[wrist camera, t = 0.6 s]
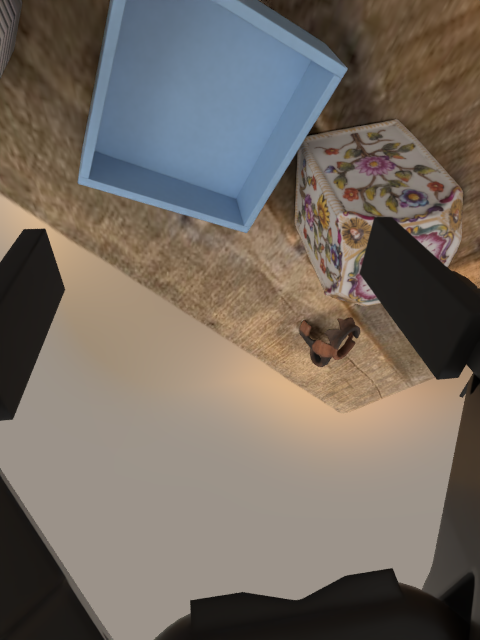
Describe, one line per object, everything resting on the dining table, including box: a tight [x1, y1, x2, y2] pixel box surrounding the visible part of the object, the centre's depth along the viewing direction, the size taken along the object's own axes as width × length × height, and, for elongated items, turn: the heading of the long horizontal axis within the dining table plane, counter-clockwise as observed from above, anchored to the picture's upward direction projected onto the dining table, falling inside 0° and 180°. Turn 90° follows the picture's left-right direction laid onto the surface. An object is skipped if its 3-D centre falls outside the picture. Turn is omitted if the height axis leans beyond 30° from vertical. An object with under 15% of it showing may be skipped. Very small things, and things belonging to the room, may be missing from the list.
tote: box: [78, 0, 347, 233], centre depth 33 cm, size 18×18×6 cm
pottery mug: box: [300, 318, 360, 367], centre depth 70 cm, size 12×10×8 cm
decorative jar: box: [295, 119, 463, 306], centre depth 39 cm, size 12×12×18 cm
